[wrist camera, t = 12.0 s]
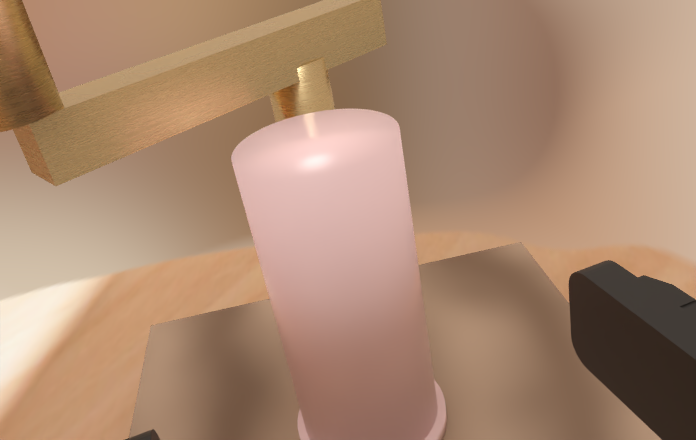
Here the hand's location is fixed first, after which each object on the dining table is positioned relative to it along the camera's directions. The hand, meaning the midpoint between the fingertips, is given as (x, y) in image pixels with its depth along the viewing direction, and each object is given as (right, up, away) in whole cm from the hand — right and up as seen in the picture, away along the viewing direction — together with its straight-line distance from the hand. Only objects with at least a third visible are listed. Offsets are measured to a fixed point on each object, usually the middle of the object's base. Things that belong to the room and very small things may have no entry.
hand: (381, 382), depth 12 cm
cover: (0, -5, +14) cm, 15 cm away
